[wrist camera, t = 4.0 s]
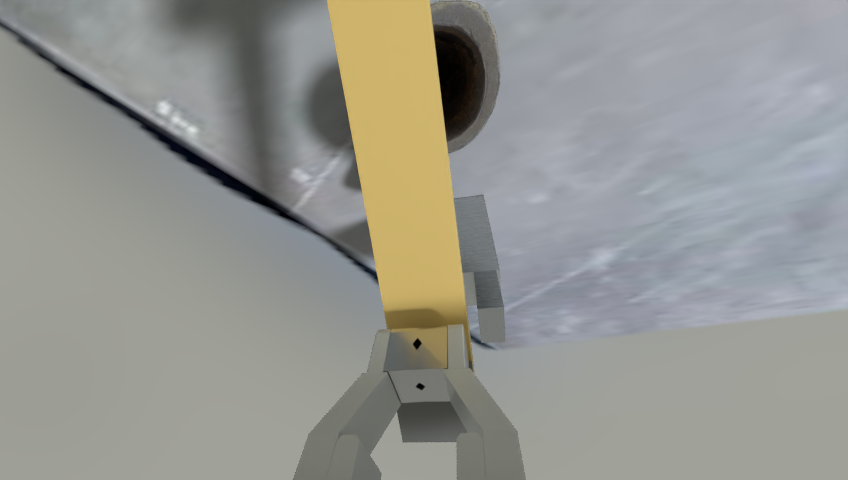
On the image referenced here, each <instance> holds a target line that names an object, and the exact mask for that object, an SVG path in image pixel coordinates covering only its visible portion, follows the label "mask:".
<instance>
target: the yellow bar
mask: <svg viewBox="0 0 848 480" xmlns="http://www.w3.org/2000/svg"><path fill="white" fill-rule="evenodd" d="M327 3H328V8H329V14H330V19H331V25H332V30H333V36H334V41H335V46H336V52H337V57H338V63H339V68H340V74H341V79H342V85H343V90H344V95H345V101H346V106H347V112H348V117H349V123H350V128H351V134H352V139H353V145H354V150H355V155H356V161H357V166H358V172H359V177H360V183H361V188H362V194H363V199H364V204H365V210H366V215H367V221H368V226H369V232H370V237H371V243H372V248H373V254H374V259H375V264H376V270H377V275H378V281H379V286H380V292H381V297H382V302H383V307H384V313H385V319H386V324H387V329H402V328H420V327H428V326H440V325H457V324H463V326H464V332H465V339H466V345H467V353H468V363H469V368H470V369H471V370H472V372H473V373H474V364H473V356H472V348H471V340H470V331H469V323H468V315H467V306H466V298H465V290H464V281H463V273H462V265H461V256H460V248H459V240H458V232H457V223H456V215H455V207H454V198H453V190H452V182H451V173H450V165H449V157H448V148H447V140H446V132H445V124H444V115H443V107H442V99H441V90H440V82H439V74H438V65H437V57H436V49H435V41H434V32H433V24H432V16H431V7H430V0H327ZM474 374H475V373H474ZM397 413H398V418H399V423H400V429H401V434H402V440H403V442H456V438H457V437H458V436H459V435H460V433H468V432H467V430H466V429H465V427H464V425H463V423H462V422H461V420H460V418H459V416H458V415H457V413H456V411H455V409H454V408H453V406H452V404H451V402H450V401H438V402H410V403H401V406H400V407H399V409H398V410H397Z"/></svg>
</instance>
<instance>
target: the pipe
mask: <svg viewBox="0 0 848 480" xmlns="http://www.w3.org/2000/svg"><path fill="white" fill-rule="evenodd" d="M430 7H431V16H432V24H433V32H434V41H435V49H436V57H437V65H438V74H439V82H440V90H441V99H442V107H443V115H444V124H445V132H446V140H447V148H448V153H451V152H454V151H457V150H459V149H461V148H463V147H464V146H466V145H467V144H469V143H470V142H471V141H472V140H473V139H474V138H475V137H476V136H477V135H478V134H479V133H480V131H481V130H482V129H483V127H484V126H485V124H486V122H487V121H488V119H489V117H490V115H491V113H492V111H493V109H494V107H495V104H496V100H497V96H498V91H499V85H500V60H499V51H498V43H497V37H496V32H495V29H494V26H493V24H492V23H491V20H490V18H489V15H488V13H487V12H486V10H485V9H484V8H483V7H482V6H481V5H479V4H477V3H474V2H471V1H439V2H436V3H433V4H431V5H430Z"/></svg>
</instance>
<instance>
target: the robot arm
mask: <svg viewBox="0 0 848 480" xmlns="http://www.w3.org/2000/svg"><path fill="white" fill-rule="evenodd" d="M438 401H450V402H451V404H452V406H453V408H454V409H455V411H456V413H457V415H458V416H459V418H460V420H461V422H462V423H463V425H464V427H465V429H466V430H467V432H468V433H460V435H459V436H458V437H457V438H456V443H457V480H526V479H525V472H524V467H523V461H522V456H521V450H520V444H519V439H518V433H517V430H516V429H515V428H514V426H513V425H512V424H511V422H510V421H509V420H508V418H507V417H506V416H505V414H504V413H503V412H502V410H501V409H500V408H499V406H498V405H497V404H496V402H495V401H494V400H493V398H492V397H491V396H490V394H489V393H488V392H487V390H486V389H485V388H484V386H483V385H482V384H481V382H480V381H479V380H478V378H477V377H476V376H475V374H474V373H473V372H472V370H471V369H470V368H469V363H468V353H467V345H466V339H465V332H464V326H463V324H457V325H440V326H428V327H420V328H402V329H383V330H378V332H377V333H376V336H375V340H374V344H373V348H372V353H371V357H370V361H369V365H368V370H367V373H362V374H361V376H360V377H359V378H358V379H357V380H356V381H355V382H354V383H353V385H352V386H351V387H350V388H349V389H348V390H347V391H346V392H345V394H344V395H343V396H342V397H341V398H340V399H339V400H338V401H337V403H336V404H335V405H334V406H333V407H332V409H331V410H330V411H329V412H328V413H327V414H326V415H325V416H324V417H323V418H322V420H321V421H320V422H319V423H318V424H317V425H316V426H315V427H314V429H313V430H312V431H311V432H310V433H309V435H308V438H307V441H306V443H305V446H304V450H303V452H302V455H301V458H300V461H299V464H298V467H297V469H296V472H295V475H294V478H293V480H381V472H380V470H379V468H378V467H377V465H376V464H375V462H374V461H373V459H372V458H371V456H370V454H371V452H372V451H373V449H374V448H375V446H376V444H377V443H378V441H379V439H380V438H381V436H382V434H383V433H384V431H385V430H386V428H387V427H388V425H389V423H390V422H391V420H392V418H393V417H394V415H395V414H396V412H397V410H398V409H399V407H400V406H401V403H410V402H438Z"/></svg>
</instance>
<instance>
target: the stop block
mask: <svg viewBox="0 0 848 480" xmlns="http://www.w3.org/2000/svg"><path fill="white" fill-rule="evenodd" d="M454 207H455V215H456V223H457V232H458V240H459V248H460V256H461V265H462V273H463V281H464V290H465V298H466V306H470V305H477V309H478V317H479V326H480V335H481V343H486V342H504V341H505V323H504V305H503V300H502V295H501V287H500V269H499V264H498V260H497V255H496V250H495V246H494V241H493V237H492V232H491V227H490V223H489V218H488V213H487V209H486V204H485V199H484V195H479V196H472V197H464V198H456V199H454Z"/></svg>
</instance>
